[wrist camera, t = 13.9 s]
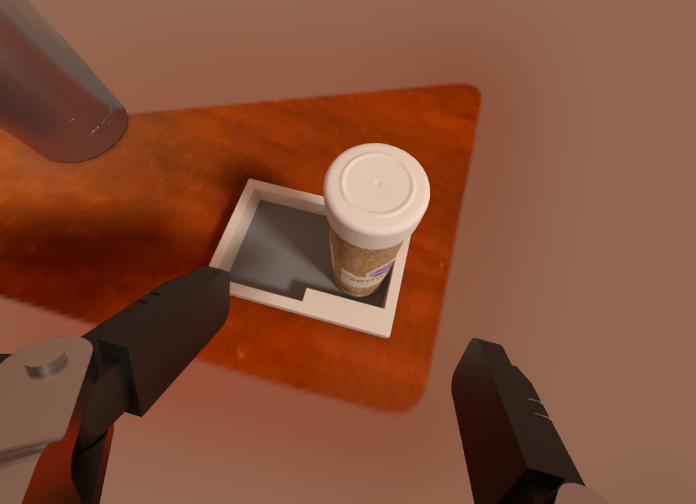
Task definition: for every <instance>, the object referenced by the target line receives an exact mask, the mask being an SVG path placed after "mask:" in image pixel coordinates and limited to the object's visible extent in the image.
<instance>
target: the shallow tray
mask: <svg viewBox="0 0 696 504" xmlns="http://www.w3.org/2000/svg"><path fill="white" fill-rule="evenodd" d="M329 231H330V224H329V222H328V220H327V217H326V213H325V207H324V197H322V196H318V195H314V194H310V193H306V192H302V191H298V190H294V189H290V188H286V187H282V186H278V185H274V184H270V183H266V182H262V181H258V180H254V179H250V178H249V180H248V182H247V184H246V186H245V188H244V191H243V193H242V195H241V197H240V199H239V201H238V204H237V206H236V208H235V210H234V212H233V214H232V217H231V219H230V221H229V223H228V225H227V227H226V230H225V232H224V234H223V236H222V238H221V240H220V242H219V245H218V247H217V249H216V251H215V253H214V255H213V258H212V260H211V262H210V264H209V266H210V267H214V268H218V269H222V270H225V271H228V272H229V274H230V296H234V297H238V298H241V299H245V300H248V301H252V302H255V303H259V304H263V305H266V306H270V307H273V308H277V309H281V310H284V311H288V312H291V313H295V314H298V315H302V316H306V317H309V318H313V319H316V320H320V321H323V322H327V323H331V324H334V325H338V326H341V327H345V328H349V329H352V330H356V331H359V332H363V333H366V334H370V335H374V336H377V337H381V338H384V339H385V338H388V337H390V333H391V329H392V324H393V319H394V314H395V309H396V304H397V299H398V295H399V290H400V285H401V280H402V275H403V270H404V266H405V261H406V256H407V251H408V246H409V241H410V237H411V235H410V236H409V237H408V238H407V239H405V240H404V242H403V244H402V246H401V248H400V250H399V251H398V253H397V255H396V258H395V260H394V262H393V264H392V266H391V267H390V269H389V271H388V273H387V274H386V276H385V277H384V280H383V282H382V284H381V286H380V287H379V288H378V289H377V291H375V292H374V293H372V294H370V295H367V296H363V297H355V296H351V295H348V294H346V293H344V292H343V291H342V290H340V289H339V288H338V286H337V285H336V283H335V280H334V278H333V265H332V258H331V249H330V238H329Z"/></svg>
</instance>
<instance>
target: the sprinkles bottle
mask: <svg viewBox="0 0 696 504" xmlns="http://www.w3.org/2000/svg"><path fill="white" fill-rule="evenodd" d="M323 194H324V207H325V213H326V217H327V220H328V222H329V224H330V231H329V238H330V249H331V258H332V265H333V278H334V280H335V283H336V285H337V286H338V288H339V289H340V290H342V291H343V292H344V293H346V294H348V295H351V296H355V297H363V296H367V295H370V294H372V293H374V292H375V291H377V289H378V288H379V287H380V286H381V284H382V282H383V280H384V277H385V276H386V274H387V273H388V271H389V269H390V267H391V266H392V264H393V262H394V260H395V258H396V255H397V253H398V251H399V250H400V248H401V246H402V244H403V242H404V240H405V239H407V238H408V237H409V236H410V235H411V234H412V232H413V231H414V230H415V229H416V227H417V225H418V224H419V222H420V220H421V218H422V217H423V215H424V213H425V211H426V209H427V206H428V202H429V198H430V187H429V181H428V178H427V176H426V173H425V171H424V170H423V168H422V167H421V165H420V164H419V163H418V161H417V160H416V159H414V158H413V157H412V156H411V155H409V154H408V153H407V152H405V151H403V150H401V149H399V148H397V147H394V146H391V145H387V144H381V143H370V144H362V145H358V146H355V147H352V148H350V149H348V150H346V151H345V152H343V153H342V154H340V155H339V156H338V157H337V158H336V159H335V160H334V161H333V162H332V164H331V165H330V167H329V169H328V170H327V173H326V176H325V179H324V185H323Z"/></svg>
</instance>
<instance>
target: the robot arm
mask: <svg viewBox="0 0 696 504" xmlns="http://www.w3.org/2000/svg"><path fill="white" fill-rule="evenodd" d="M126 125H127V112H126V109H125V108H124V106H123V105H122V103H121V102H120V101H119V100H118V99H117V98H116V97H115V96H114V95H113V93H112V92H111V91H110V90H109V89H108V88H107V87H106V85H105V84H104V83H103V82H102V81H101V80H100V79H99V77H98V76H97V75H96V74H95V73H94V72H93V70H91V68H90V67H89V66H88V65H87V64H86V63H85V61H84V60H82V58H81V57H80V56H79V55H78V54H77V52H76V51H75V50H74V49H73V48H72V47H71V46H70V45H69V43H68V42H67V41H66V40H65V39H64V38H63V37H62V35H60V33H59V32H58V31H57V30H56V29H55V28H54V26H53V25H52V24H51V23H50V22H49V21H48V20H47V19H46V18H45V16H44V15H43V14H42V13H41V12H40V11H39V10H38V9H37V7H36V6H35V5H34V4H33V3H32V2H31V1H30V0H0V128H1V129H3V130H4V131H6V132H7V133H9V134H10V135H12V136H13V137H15V138H16V139H18V140H19V141H21V142H23V143H24V144H26V145H27V146H29V147H30V148H32V149H33V150H35V151H36V152H38V153H39V154H41V155H42V156H44V157H46V158H48V159H50V160H53V161H56V162H64V163H72V162H80V161H84V160H88V159H91V158H93V157H95V156H98V155H100V154H101V153H103V152H105V151H106V150H108V149H109V148H110V147H112V146H113V145H114V144H115V143H116V142H117V141H118V140H119V139H120V137H121V136H122V134H123V133H124V131H125V129H126ZM229 308H230V274H229V272H228V271H225V270H222V269H218V268H214V267H210V266H207V265H203V266H201V267H199V268H198V269H196V270H195V271H194V272H192V273H191V274H189V275H188V276H184V275H183V276H181V277H178V278H175V279H172V280H169V281H166V282H164V283H163V284H161V285H160V286H158V287H157V288H155V289H154V290H152V291H151V292H150V294H148V293H147V294H146V295H144V296H143V297H141V298H140V299H138V301H137V302H134V303H132V304H131V305H129V306H128V307H126V308H125V309H123V310H122V311H120V312H118V313H117V314H115V315H114V316H112V317H111V318H109V319H108V320H106V321H105V322H103V323H102V324H100V325H99V326H97V327H96V328H94V329H93V330H91V331H89V332H88V333H86V334H85V335H83V336H82V337H75V336H64V337H56V338H50V339H47V340H43V341H40V342H37V343H34V344H32V345H29V346H27V347H25V348H23V349H21V350H19V351H17V352H15V353H14V354H0V504H100V499H101V495H102V489H103V484H104V479H105V474H106V469H107V464H108V458H109V454H110V448H111V443H112V438H113V433H114V422H115V421H116V420H117V419H118V418H119V417H120V416H121V415H122V414H123V413H124V412H127V413H130V414H133V415H136V416H140V417H142V416H143V415H144V414H145V413H146V412H147V411H148V410H149V409H150V407H151V406H152V405H153V404H154V403H155V402H156V400H158V398H159V397H160V396H161V395H162V394H163V393H164V392H165V391H166V389H167V388H168V387H169V386H170V385H171V384H172V383H173V381H174V380H175V379H176V378H177V377H178V376H179V375H180V374H181V372H182V371H183V370H184V369H185V368H186V367H187V366H188V365H189V364H190V362H191V361H192V360H193V359H194V358H195V357H196V356H197V355H198V353H199V352H200V351H201V350H202V349H203V348H204V347H205V346H206V344H207V343H208V342H209V341H210V340H211V339H212V338H213V337H214V335H215V334H216V333H217V332H218V331H219V330H220V329H221V328H222V326H223V325H224V323H225V322H226V319H227V317H228V314H229ZM451 387H452V388H451V389H452V396H453V401H454V406H455V411H456V416H457V421H458V425H459V430H460V435H461V440H462V445H463V450H464V455H465V460H466V464H467V469H468V474H469V479H470V484H471V489H472V493H473V499H474V503H475V504H610V503H609V502H608V501H607V500H605V499H604V498H603V497H601V496H600V495H599V494H597V493H596V492H594V491H592V490H591V489H589V488H587V487H586V486H585V484H584V482H583V480H582V479H581V477H580V475H579V473H578V471H577V469H576V467H575V465H574V463H573V461H572V460H571V458H570V456H569V454H568V452H567V450H566V448H565V446H564V444H563V442H562V441H561V438H560V437H559V435H558V433H557V431H556V429H555V427H554V425H553V423H552V421H551V420H549V419H548V417H549V416H548V414H547V412H546V410H545V408H544V406H543V405H542V404H541V403H540V402H541V400H540V399H539V397H538V395H537V393H536V391H535V389H534V387H533V385H532V383H531V382H530V381H529V380H528V379H527V378H526V377H525V375H524V374H523V373H522V372H521V371H520V370H519V369H518V368H517V367H516V366H512V365H511V363H510V361H509V359H508V357H507V355H506V352H505V351H504V348H503V347H502V346H501V345H500V344H496V343H492V342H489V341H485V340H481V339H477V338H473V339H472V340H471V341H470V342H469V344H468V346H467V348H466V350H465V352H464V354H463V356H462V358H461V360H460V362H459V363H458V365H457V367H456V369H455V372H454V374H453V378H452V385H451Z"/></svg>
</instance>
